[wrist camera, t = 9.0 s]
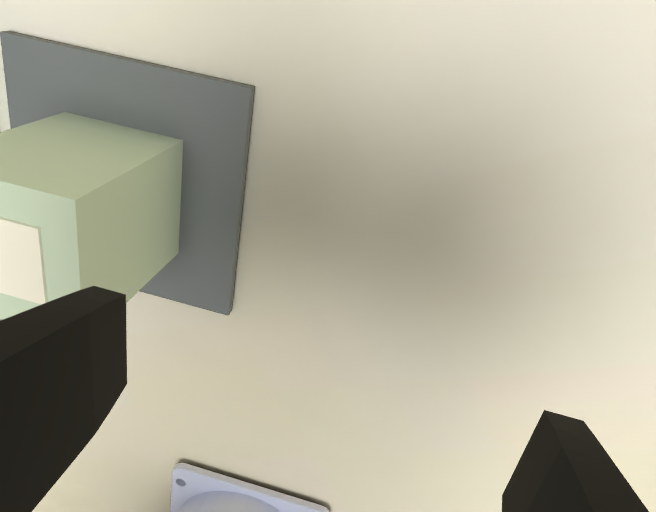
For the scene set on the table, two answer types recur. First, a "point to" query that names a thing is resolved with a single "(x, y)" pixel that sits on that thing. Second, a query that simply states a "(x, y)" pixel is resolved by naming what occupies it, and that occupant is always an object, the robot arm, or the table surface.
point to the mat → (160, 118)
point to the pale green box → (84, 208)
